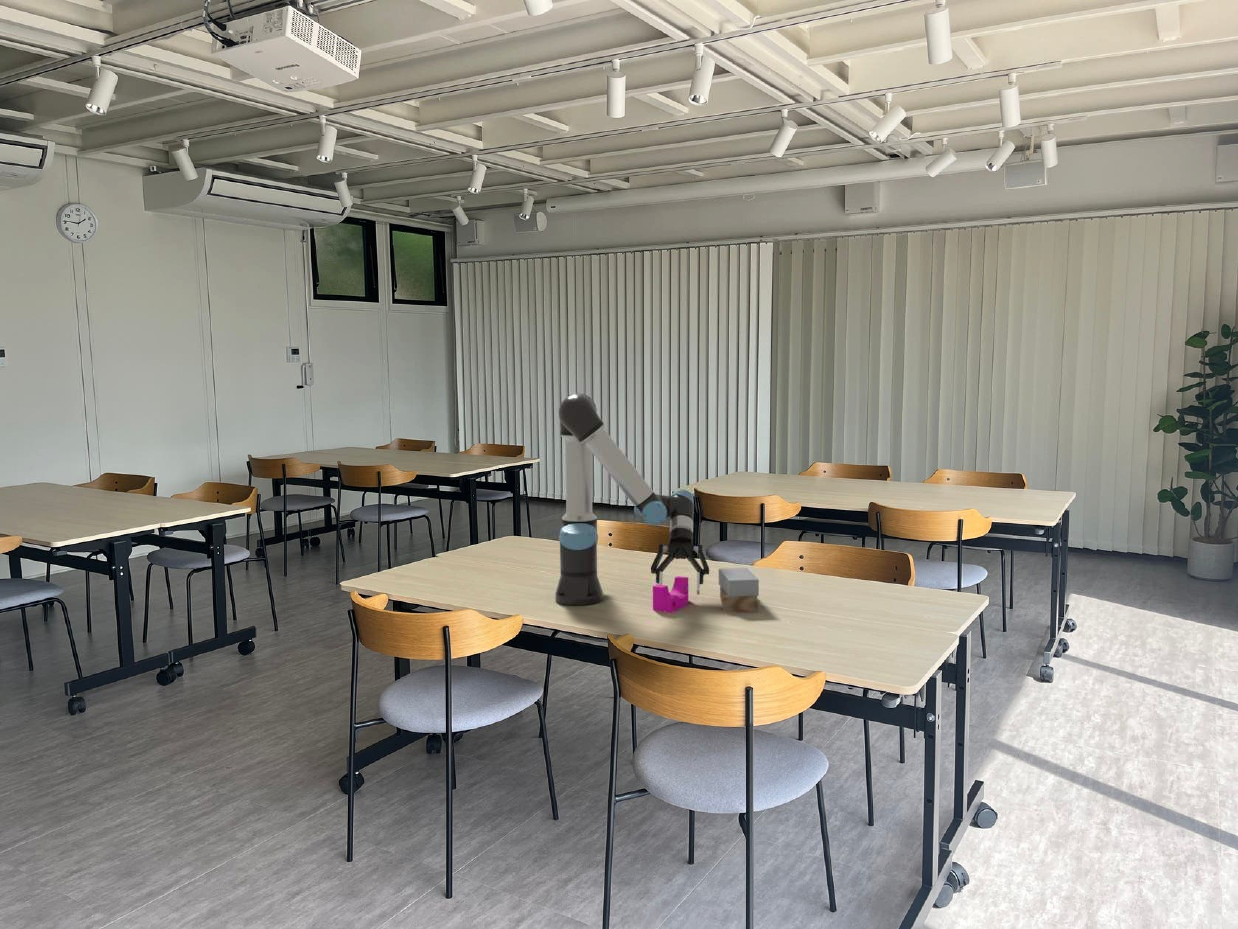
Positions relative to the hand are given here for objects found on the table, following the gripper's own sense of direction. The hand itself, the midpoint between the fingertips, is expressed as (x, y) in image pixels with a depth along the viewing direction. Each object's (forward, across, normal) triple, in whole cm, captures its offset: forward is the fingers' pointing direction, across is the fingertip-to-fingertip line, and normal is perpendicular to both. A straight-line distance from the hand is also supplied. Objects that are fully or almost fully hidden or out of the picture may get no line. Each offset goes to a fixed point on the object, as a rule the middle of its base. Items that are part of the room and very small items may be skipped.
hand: (679, 592), depth 281 cm
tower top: (-2, -18, -2) cm, 18 cm away
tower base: (+1, -18, -5) cm, 19 cm away
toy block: (+3, +1, -3) cm, 5 cm away
